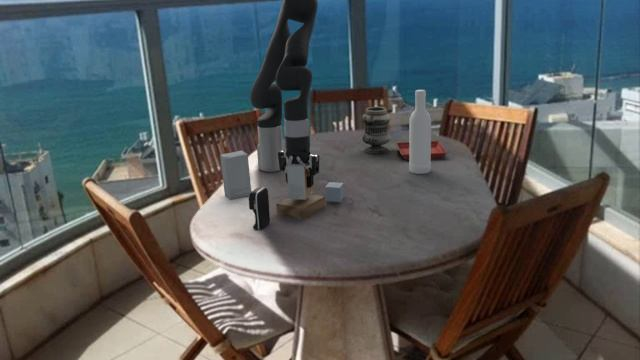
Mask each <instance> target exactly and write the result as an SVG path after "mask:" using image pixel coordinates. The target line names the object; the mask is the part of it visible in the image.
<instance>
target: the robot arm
mask: <svg viewBox="0 0 640 360" xmlns="http://www.w3.org/2000/svg"><path fill="white" fill-rule="evenodd" d="M318 2H319V1H318V0H282V3H281V7H280V10H279V14H278V17H277V22H276V25H275V29H274V31H273V34H272V37H271V39H270V41H269V44H268V45H267V46H268V47H267V50H266V53H265V57H264V59H263V62H262V65H261V67H260V70H259V72H258V75H257V77H256V78H255V81H254V83H253V85H252V87H251V89H250V90H251V91H250V96H249V97H250V99H249V101H250V104H251V105H252V107H254V109H258V110H263V109H264V110H265V109H267V110H266V111H265V113H263V114H262V115H261V116H259V117H258V118H257V120H256V125H257V137H258V138H257V139H258V144H257V145H256V153H257V167H258V168H257V169H259V170H261V171H262V172H268V173H269V172H271V173H273V172H274V173H275V172H279V171H283V172H284V174H285V182H286V183H287V184H286V185H288V179H287V166H289V165H290V164H299V165H302V166H305V164H308V166H306V167H305V169H306V175H307V176H306V178H307V188H310V187H311V188H312V187H313V186H314V184H315V181H314V176H315V175H317V174H319V173H320V155H319V154H312V153H311V151H310V149H311V134H310V122H309V113H308V111H309V110H308V100H309V94H310V90H311V85H312V81H313V74H312V71H311V69H310V68H309V67H308V66H307V64H308V60H309V59H308V58H309V47H310V42H311V37H312V34H313V29H314V26H315V22H316V17H317V13H318V4H319V3H318ZM289 20H290V21H294V22H296V23H297V22H298V23H301V24H302V25H301V27H299V28H298V29H297V30H295V31H294V32H293V33H292V34H291V32H290V28H289ZM282 91H284V92H289V91H290V92H291V91H296V92H298V91H299V92H300V93H299V95H297V96H295V97H291V98H288V99H285V100H284V102H283V94H282V93H283V92H282ZM283 112H284V113H283ZM283 114H284V124H283V125H284V127H282V121H283ZM283 129H284V130H283ZM283 131H284V138H283ZM283 139H284V141H283ZM284 144H285V149H286V150H285V149H284ZM287 160H288V161H287ZM309 160H310V161H309Z"/></svg>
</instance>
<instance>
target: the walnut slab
mask: <svg viewBox="0 0 640 360" xmlns="http://www.w3.org/2000/svg"><path fill="white" fill-rule="evenodd" d="M275 204H276V214H277V216H278V215H279V216H283V215H286V216H285V217H288V216H290V217H289V218H292V217H294V218H293V219H297V218H298V220H302V219H303V220H302V221H304V220H305V219H307V218H309V217H311V216H313V215H314V214H316V213H317V212H320V211H322V210H323V209H324V208H326V199H325V195H317V194H312V193H310V194H309V196H308V197H307V199H306V200H299V199H289V196H288V197H286V198H285V199H283V200H280V201H278V202H276V203H275Z"/></svg>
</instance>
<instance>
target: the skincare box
mask: <svg viewBox="0 0 640 360" xmlns="http://www.w3.org/2000/svg"><path fill="white" fill-rule="evenodd" d="M219 157H220V158H219V159H220V168H221V175H222V182H223V183H222V184H223V190H224V195H225V196H226V197H227V198H228V199H229V200H233V199H239V198H243V197H249V194H250V193H251V192H252V185H251V184H252V183H251V175H250V174H251V173H250V163H249V155H248V153H247V152H245V151H243V150H237V151H232V152H228V153H222V154H219Z"/></svg>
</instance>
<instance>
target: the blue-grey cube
mask: <svg viewBox="0 0 640 360" xmlns="http://www.w3.org/2000/svg"><path fill="white" fill-rule="evenodd" d="M324 194H325V195H324V197H325V202H333V203H334V202H335V203H341V202H342V200H343V199H344V198H345V183H344V182H334V181H332V182H331V181H330V182H328V183H327V184H326V185H325V186H324Z"/></svg>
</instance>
